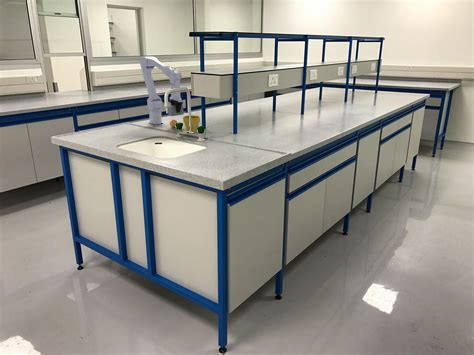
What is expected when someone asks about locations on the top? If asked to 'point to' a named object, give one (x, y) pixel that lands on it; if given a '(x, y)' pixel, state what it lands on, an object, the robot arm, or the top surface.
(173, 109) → the grey block
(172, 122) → the ball
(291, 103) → the top surface
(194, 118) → the plant pot
